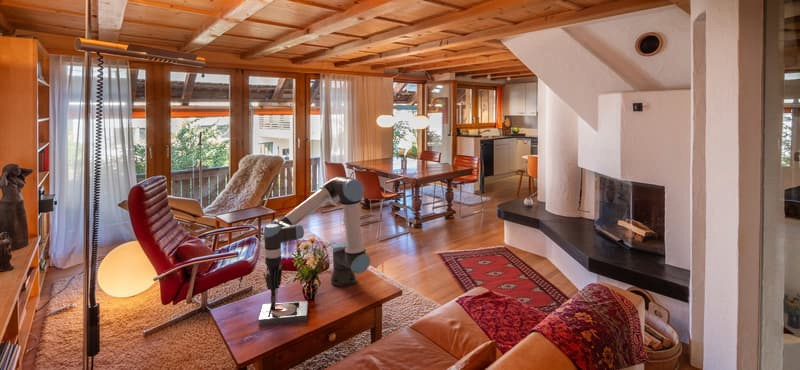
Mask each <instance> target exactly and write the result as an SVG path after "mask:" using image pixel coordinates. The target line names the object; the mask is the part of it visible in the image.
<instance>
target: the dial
mask: <svg viewBox="0 0 800 370" xmlns="http://www.w3.org/2000/svg"><path fill="white" fill-rule="evenodd" d="M275 303H276V302H275V295H271V294H270V304H271V310H272V316H273V317H281V316H293V315H295V314H296V312H297V307H296V306H295V305H293V304H281V305H277V306H275Z"/></svg>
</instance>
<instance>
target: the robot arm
mask: <svg viewBox="0 0 800 370" xmlns="http://www.w3.org/2000/svg"><path fill="white" fill-rule="evenodd" d="M364 194H365V187H364V185H363V184H362V182H361V181H360V180H358V179H356V178H351V177H346V176H336V177H333V178H331V179H329V180H327V182H325V183H324V184H322V185H321V186H320V187H319V190H317V191H315V192H314V193H313V194H312V195H310V196H309V197H308V198H307V199H306V200H304V201H302V203H300V204H299V205H297V206H296V207H295V208H293V209H292V210H290V211H289V212H288V213H287V214H285V215H284V216H283V217H281V218H280V219H278V218H277V219H274V220H272V221H271V223H270V224H266V225H265V226H264V227H263V240H264V241H263V242H264V256H265V258H264V264H265V265H266V271H265V272H264V273H263V278H264V280H265V282H266V283H265V284H266V287H267V290H270V296H271V295H275V303H278V299H279V297H278V296H279V294H278V293H279V289H280V287H281V284H282V283H281V282H282V275H283V270H284V265H282V246H281V245H282V244H283V243H287V242H294V241H298V240H301V239H303V238H304V236H305V229H304V227H303V225H302V224H299V223H301V222H302V221H303V220H304V219H306V218H307V217H308V216H310V215H311V214H312V213H313V212H315V211H317V209H319V208H320V207H321V206H323V205H324V204H325V203H327V202H328V201H333V200H334V199H335V198H339V201H338V202H339V205H341V206H342V210H343V220H344V230H345V238H346V240H345V241H346V243H345V242H343V243H338V244H335V245H334V246H332V265H333V266H332V268H333V270H332V273H331V277H330V284H331V283H332V284H333V285H332V284H331V285H332V286H334V285H336V286H335V287H341V286H343V287H349V285H350V286H352V284H353V285H354V284H356V283H357V276H356V274H358V275H359V274H363V273H365V272H366V271H367V270H368V269H369V268H370V265H371V258H370V256H369V255H368V254H367V253H366V247H365V246H364V245H363V240H362V239H363V237H362V228H361V216H360V208H359V206H360V204H361V202H362V198H363V196H364Z"/></svg>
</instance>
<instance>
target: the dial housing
mask: <svg viewBox="0 0 800 370" xmlns="http://www.w3.org/2000/svg"><path fill="white" fill-rule="evenodd" d="M281 304H293V305H295V306H296V307H297V312H296V314H295V315H293V316H281V317H273V316H272V310H271V303H265V304H262V308H261V311H260V313H259V316H258V327H265V326H275V325H286V324H297V323H299V324H300V323H307V321H308V307H309V306H308V305H309V303H308V300H302V301H301V300H300V301H299V300H298V301H287V302H279V303H278V302H275V306H277V305H281Z"/></svg>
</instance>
